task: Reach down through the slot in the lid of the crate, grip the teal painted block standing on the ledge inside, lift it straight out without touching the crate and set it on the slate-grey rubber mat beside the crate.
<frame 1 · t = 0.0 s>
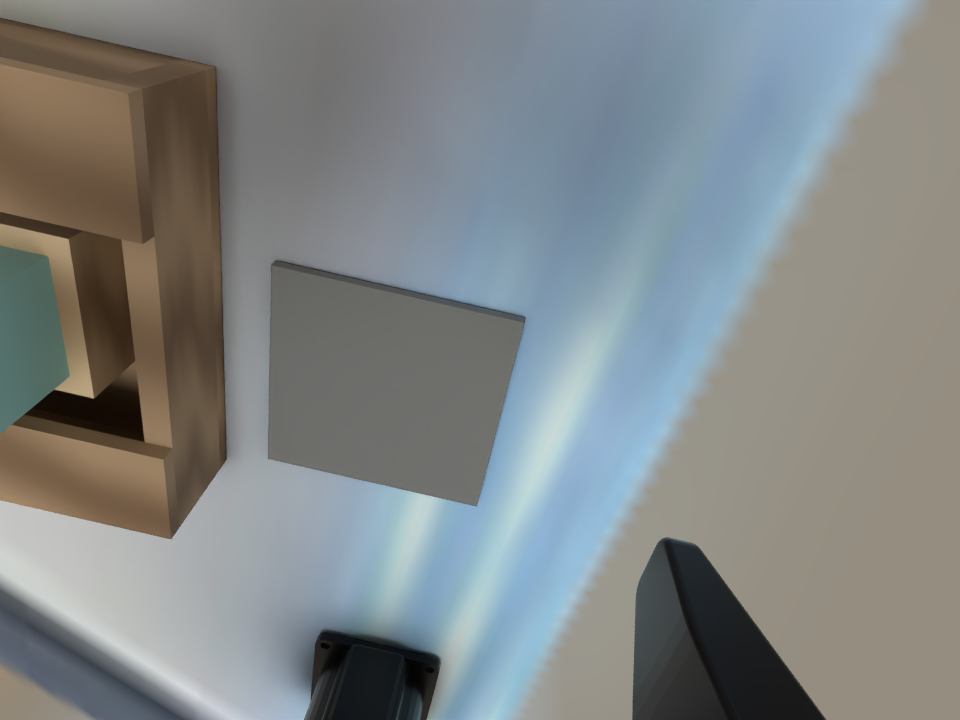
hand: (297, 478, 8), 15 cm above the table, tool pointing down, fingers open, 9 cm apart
crate: (63, 261, 24), on the table
mat: (386, 391, 25), on the table
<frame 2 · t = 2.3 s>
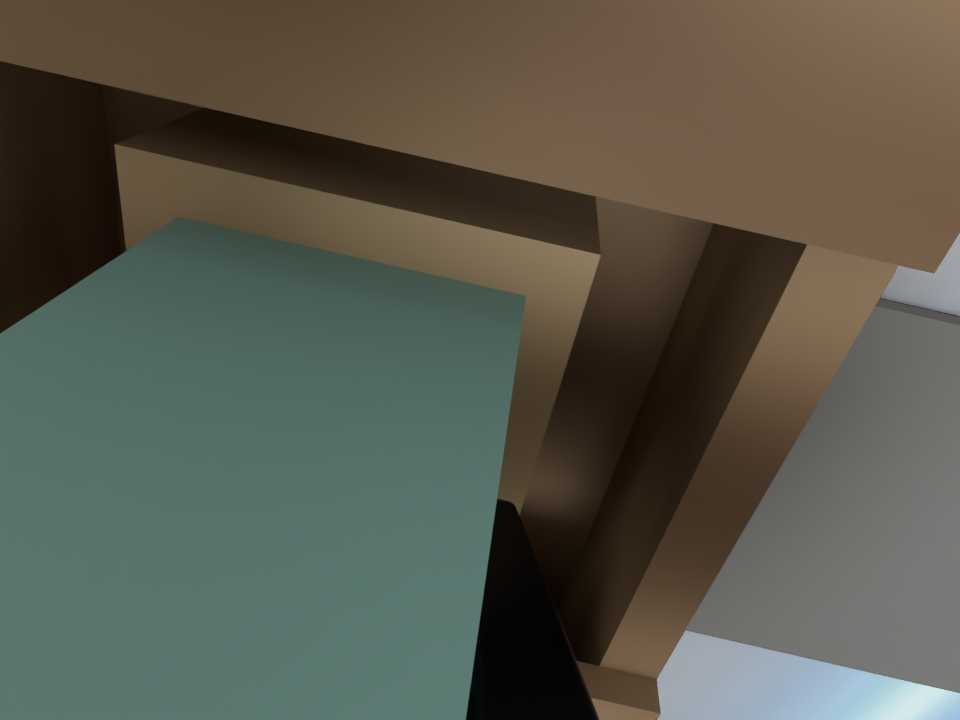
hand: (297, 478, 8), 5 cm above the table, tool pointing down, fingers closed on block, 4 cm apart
crate: (395, 292, 12), on the table
block: (339, 397, 9), point 3 cm above the table, touching crate, gripper
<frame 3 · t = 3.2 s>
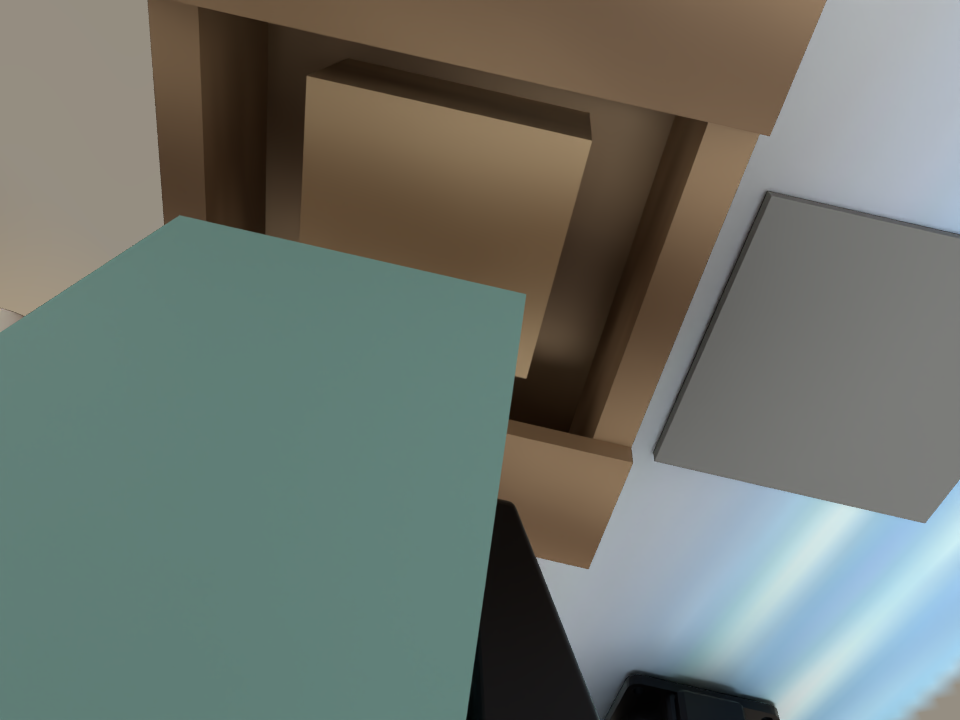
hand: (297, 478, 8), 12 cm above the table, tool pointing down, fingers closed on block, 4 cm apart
crate: (452, 196, 18), on the table
block: (339, 396, 9), point 10 cm above the table, touching gripper
drinking glass: (25, 363, 23), on the table
mat: (853, 372, 19), on the table
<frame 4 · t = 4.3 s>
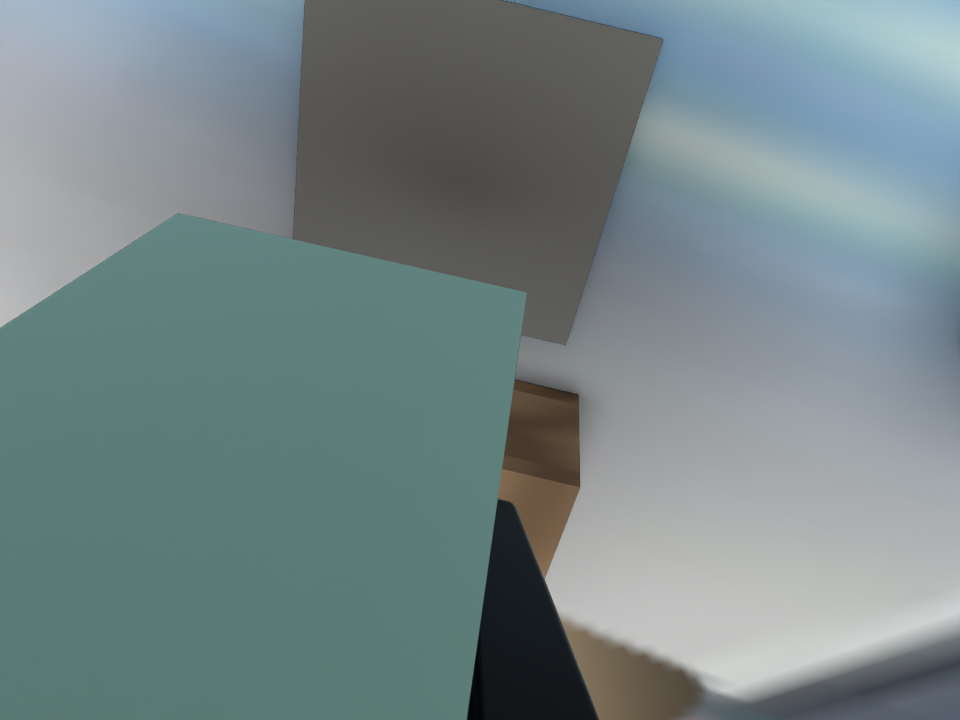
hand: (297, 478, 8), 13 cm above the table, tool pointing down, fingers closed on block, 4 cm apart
crate: (335, 470, 25), on the table
block: (339, 395, 9), point 11 cm above the table, touching gripper
mat: (455, 171, 19), on the table
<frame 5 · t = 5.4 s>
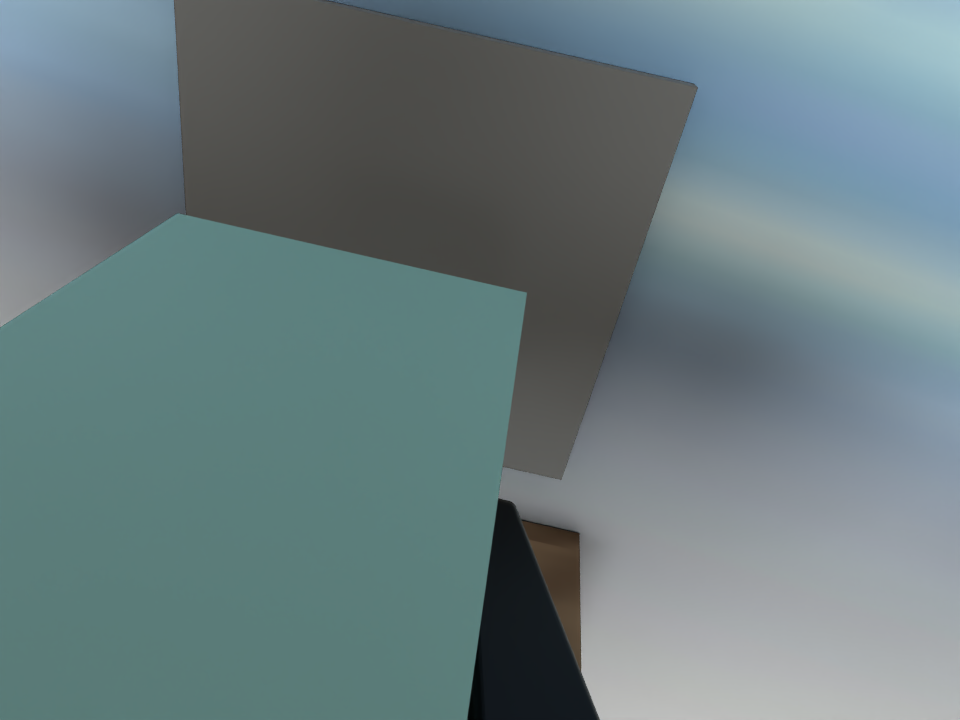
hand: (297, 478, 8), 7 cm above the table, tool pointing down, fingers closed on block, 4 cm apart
crate: (276, 608, 20), on the table
block: (339, 395, 9), point 5 cm above the table, touching gripper
mat: (405, 262, 14), on the table
when the fingers open (3 cm above the table, at t = 6.4 s): block drops 1 cm, resting on mat.
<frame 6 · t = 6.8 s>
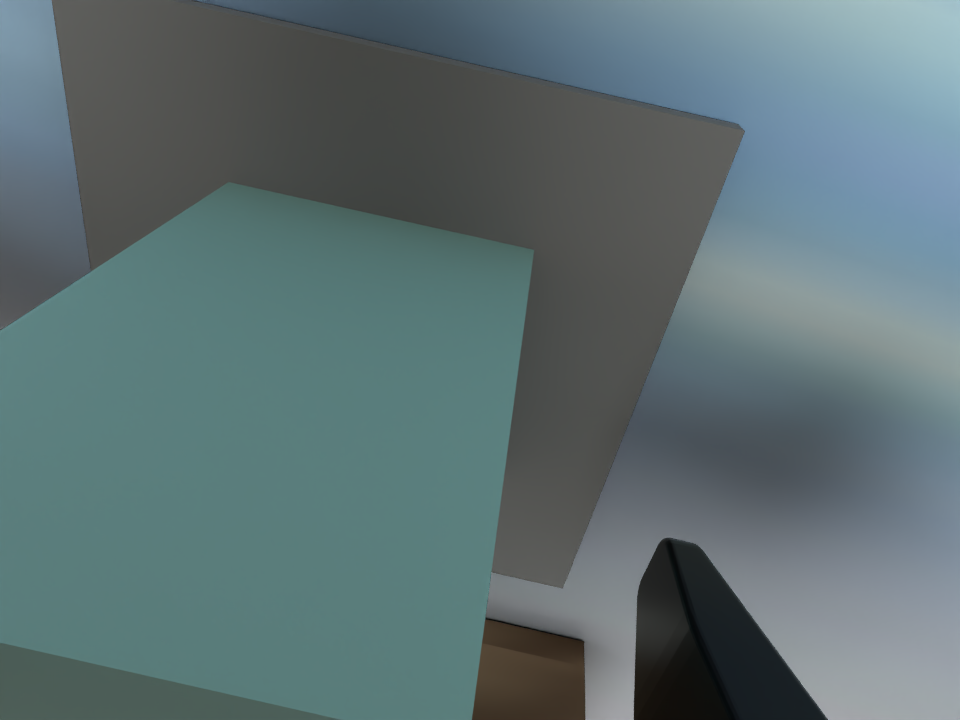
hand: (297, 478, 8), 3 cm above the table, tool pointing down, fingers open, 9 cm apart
crate: (234, 708, 18), on the table
block: (367, 347, 11), resting on mat
mat: (369, 337, 11), on the table
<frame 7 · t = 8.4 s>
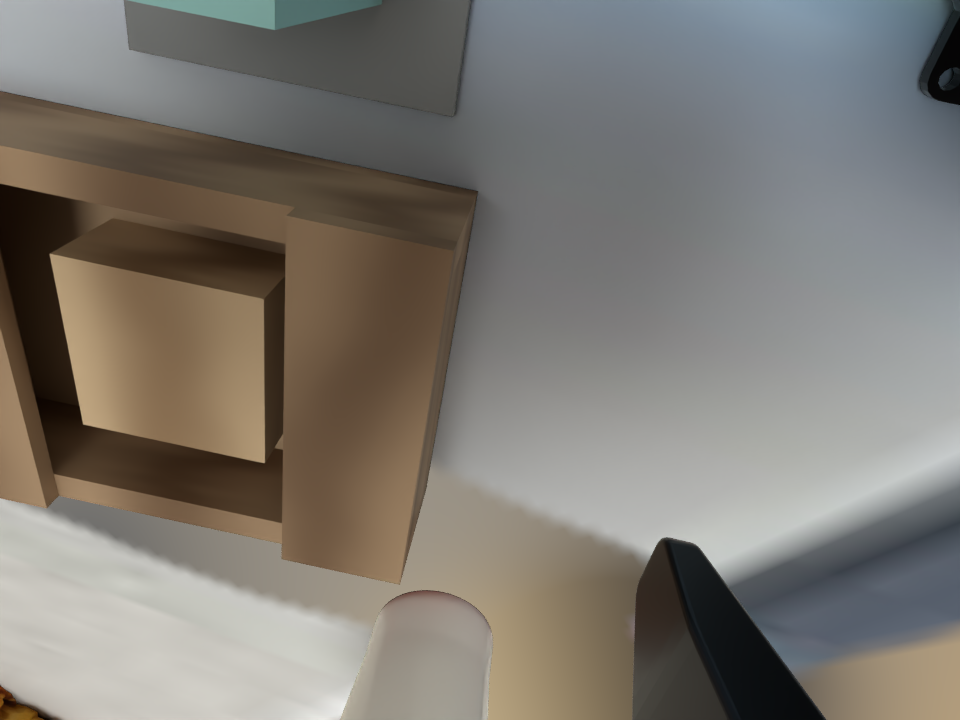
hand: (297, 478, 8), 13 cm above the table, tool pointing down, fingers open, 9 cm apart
crate: (219, 312, 22), on the table
drinking glass: (436, 619, 30), on the table
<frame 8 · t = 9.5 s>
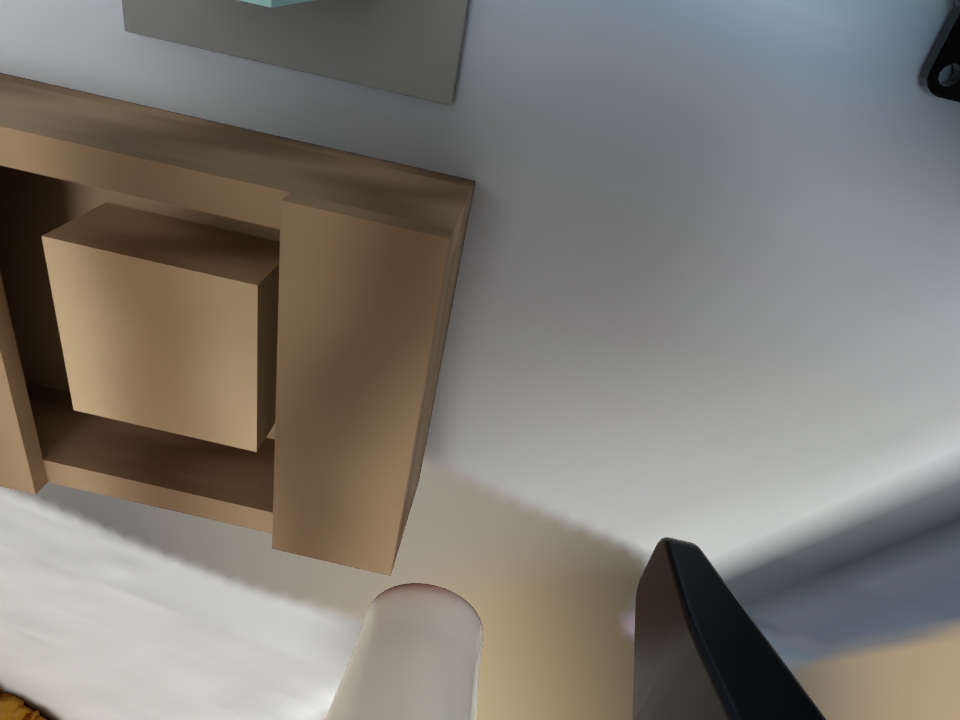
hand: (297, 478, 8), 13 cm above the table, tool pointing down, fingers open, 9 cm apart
crate: (213, 300, 22), on the table
drinking glass: (427, 612, 30), on the table
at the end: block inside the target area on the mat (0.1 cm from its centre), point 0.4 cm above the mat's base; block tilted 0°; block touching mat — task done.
